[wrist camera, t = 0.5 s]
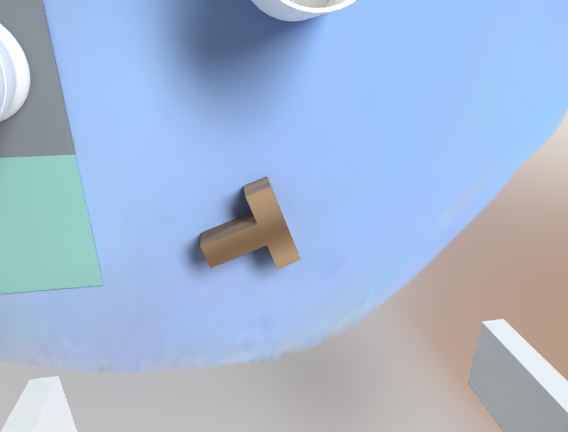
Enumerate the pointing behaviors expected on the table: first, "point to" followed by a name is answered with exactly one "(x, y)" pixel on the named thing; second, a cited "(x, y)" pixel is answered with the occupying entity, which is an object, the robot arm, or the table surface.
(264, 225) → the t block
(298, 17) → the mug
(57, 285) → the mat
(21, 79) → the jar
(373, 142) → the table surface
